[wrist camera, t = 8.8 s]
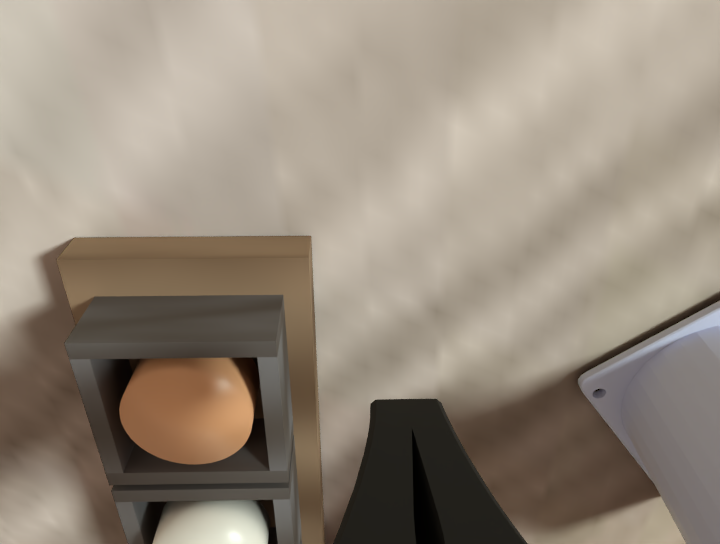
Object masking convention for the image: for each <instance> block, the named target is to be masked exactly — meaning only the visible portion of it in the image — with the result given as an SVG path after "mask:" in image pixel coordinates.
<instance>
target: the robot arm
mask: <svg viewBox="0 0 720 544" xmlns="http://www.w3.org/2000/svg"><path fill="white" fill-rule="evenodd" d="M578 385H579V387H580V389H581V391H582V392H583V394H584V395H585V396H586V398H587V399H588V400H589V401H590V403H591V404H592V405H593V406H594V408H595V409H596V410H597V412H598V413H599V414H600V415H601V417H602V418H603V419H604V421H605V422H606V423H607V424H608V426H609V427H610V428H611V429H612V431H613V432H614V433H615V435H616V436H617V437H618V438H619V440H620V441H621V442H622V443H623V445H624V446H625V447H626V449H627V450H628V451H629V452H630V454H631V455H632V456H633V458H634V459H635V460H636V461H637V463H638V464H639V465H640V466H641V468H642V469H643V470H644V472H645V473H646V474H647V475H648V477H649V478H650V479H651V480H652V482H653V483H654V484H655V486H656V488H657V490H658V492H659V494H660V495H661V497H662V499H663V501H664V503H665V505H666V507H667V508H668V510H669V512H670V514H671V516H672V518H673V520H674V521H675V523H676V525H677V527H678V529H679V531H680V533H681V535H682V536H683V538H684V540H685V542H686V544H720V301H718V302H716V303H714V304H712V305H710V306H708V307H707V308H705V309H703V310H701V311H699V312H697V313H695V314H693V315H692V316H690V317H688V318H686V319H684V320H682V321H680V322H678V323H677V324H675V325H673V326H671V327H669V328H667V329H665V330H663V331H662V332H660V333H658V334H656V335H654V336H652V337H650V338H649V339H647V340H645V341H643V342H641V343H639V344H637V345H635V346H634V347H632V348H630V349H628V350H626V351H624V352H622V353H620V354H619V355H617V356H615V357H613V358H611V359H609V360H607V361H605V362H604V363H602V364H600V365H598V366H596V367H594V368H592V369H591V370H589V371H587V372H585V373H583V374H582V375H581V376H580V377H579V379H578ZM597 389H600V390H599V391H596V392H594V391H595V390H597ZM333 544H527V543H526V541H525V540H524V539H523V537H522V536H521V535H520V533H519V532H518V531H517V529H516V528H515V527H514V525H513V524H512V522H511V521H510V520H509V518H508V517H507V515H506V514H505V513H504V511H503V510H502V508H501V507H500V506H499V504H498V503H497V501H496V500H495V498H494V497H493V495H492V494H491V492H490V491H489V489H488V487H487V486H486V484H485V483H484V481H483V479H482V478H481V476H480V475H479V473H478V472H477V470H476V468H475V467H474V465H473V463H472V462H471V460H470V458H469V457H468V455H467V453H466V452H465V450H464V448H463V446H462V444H461V442H460V441H459V439H458V437H457V435H456V433H455V431H454V429H453V427H452V425H451V423H450V421H449V419H448V417H447V415H446V413H445V411H444V408H443V406H442V403H441V402H439V401H438V400H437V399H389V400H375V401H374V402H373V403H371V407H370V426H369V433H368V438H367V443H366V447H365V452H364V456H363V459H362V463H361V466H360V470H359V473H358V477H357V480H356V484H355V487H354V490H353V493H352V496H351V498H350V501H349V504H348V507H347V509H346V512H345V515H344V517H343V520H342V523H341V526H340V528H339V531H338V533H337V535H336V538H335V540H334V543H333Z"/></svg>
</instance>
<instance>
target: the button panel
mask: <svg viewBox="0 0 720 544" xmlns="http://www.w3.org/2000/svg"><path fill="white" fill-rule="evenodd" d="M56 261H57V265H58V268H59V271H60V275H61V278H62V281H63V285H64V288H65V291H66V295H67V298H68V301H69V305H70V308H71V311H72V315H73V318H74V321H75V325H76V326H75V328H74V329H73V331H72V332H71V334H70V336H69V337H68V339H67V340H66V342H65V343H64V344H65V347H66V350H67V354H68V357H69V360H70V363H71V366H72V369H73V372H74V375H75V379H76V382H77V385H78V388H79V391H80V394H81V397H82V401H83V404H84V407H85V410H86V413H87V416H88V419H89V423H90V426H91V429H92V432H93V435H94V438H95V441H96V444H97V448H98V451H99V454H100V457H101V460H102V463H103V466H104V470H105V473H106V476H107V479H108V482H109V485H114V486H113V488H112V490H111V492H112V495H113V498H114V501H115V504H116V507H117V510H118V513H119V517H120V520H121V523H122V526H123V529H124V532H125V535H126V539H127V542H128V544H152V543H153V540H154V537H155V534H156V530H157V527H158V524H159V520H160V517H161V514H162V511H163V508H164V506H165V504H166V503H167V501H222V500H258V501H259V502H260V503H261V504H262V505H263V506H264V507H265V509H266V510H267V512H268V515H269V518H270V530H269V538H268V544H325V535H324V512H323V490H322V468H321V446H320V423H319V401H318V379H317V357H316V335H315V312H314V290H313V268H312V246H311V236H238V237H107V238H74V239H73V240H72V241H71V242H70V244H69V245H68V246H67V247H66V249H65V250H64V251H63V252H62V253H61V255H60V256H59V257H58V258H57V259H56ZM242 357H251V358H252V359H253V360H254V362H255V364H256V366H257V369H258V372H259V377H260V384H259V391H258V396H257V402H256V407H255V413H254V418H253V424H252V430H251V433H250V436H249V438H248V440H247V442H246V443H245V444H244V445H243V447H242V448H240V449H239V450H238V451H237V452H236V453H234V454H233V455H231V456H229V457H227V458H225V459H222V460H220V461H216V462H213V463H207V464H181V463H175V462H171V461H167V460H164V459H161V458H159V457H156V456H154V455H152V454H150V453H148V452H147V451H145V450H144V449H142V448H141V447H140V446H138V445H137V444H136V443H135V442H134V441H133V440H132V439H131V438H130V437H129V435H128V434H127V433H126V431H125V429H124V428H123V425H122V423H121V419H120V413H119V408H120V402H121V399H122V397H123V394H124V392H125V390H126V388H127V386H128V383H129V381H130V379H131V377H132V375H133V372H134V370H135V368H136V366H137V364H138V362H139V359H155V358H242Z"/></svg>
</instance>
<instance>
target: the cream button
mask: <svg viewBox="0 0 720 544" xmlns="http://www.w3.org/2000/svg"><path fill="white" fill-rule="evenodd" d="M269 530H270V518H269V515H268V512H267V510H266V509H265V507H264V506H263V505H262V504H261V503H260V502H259V501H258V500H222V501H167V503H166V504H165V506H164V508H163V511H162V514H161V517H160V520H159V524H158V527H157V530H156V534H155V537H154V540H153V543H152V544H268V538H269Z"/></svg>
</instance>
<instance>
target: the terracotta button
mask: <svg viewBox="0 0 720 544" xmlns="http://www.w3.org/2000/svg"><path fill="white" fill-rule="evenodd" d="M259 384H260V377H259V372H258V369H257V366H256V364H255V362H254V360H253V359H252V358H251V357H242V358H155V359H139V362H138V364H137V366H136V368H135V370H134V372H133V375H132V377H131V379H130V381H129V383H128V386H127V388H126V390H125V392H124V394H123V397H122V399H121V402H120V408H119V413H120V419H121V423H122V425H123V428H124V429H125V431H126V433H127V434H128V435H129V437H130V438H131V439H132V440H133V441H134V442H135V443H136V444H137V445H138V446H140V447H141V448H142V449H144V450H145V451H147V452H148V453H150V454H152V455H154V456H156V457H159V458H161V459H164V460H167V461H171V462H175V463H181V464H207V463H213V462H216V461H220V460H222V459H225V458H227V457H229V456H231V455H233V454H234V453H236V452H237V451H238V450H239V449H240V448H242V447H243V445H244V444H245V443H246V442H247V440H248V438H249V436H250V433H251V430H252V424H253V418H254V413H255V407H256V402H257V396H258V391H259Z"/></svg>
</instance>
